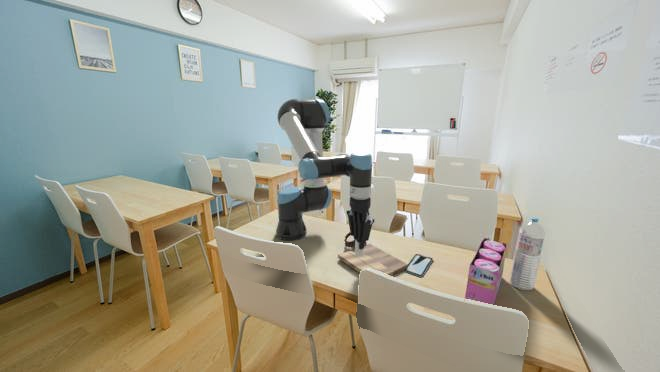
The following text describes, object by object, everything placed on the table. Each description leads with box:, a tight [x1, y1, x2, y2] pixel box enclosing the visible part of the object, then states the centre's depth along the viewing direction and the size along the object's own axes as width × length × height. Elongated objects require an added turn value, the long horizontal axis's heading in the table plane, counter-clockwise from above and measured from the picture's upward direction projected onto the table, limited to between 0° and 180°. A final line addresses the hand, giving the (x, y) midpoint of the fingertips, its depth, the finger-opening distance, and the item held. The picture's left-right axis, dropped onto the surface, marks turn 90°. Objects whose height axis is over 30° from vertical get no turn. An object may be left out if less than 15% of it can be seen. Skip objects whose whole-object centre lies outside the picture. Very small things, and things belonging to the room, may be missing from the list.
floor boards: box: [363, 243, 408, 276], centre depth 111 cm, size 21×8×2 cm, turn 36°
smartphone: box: [403, 253, 434, 278], centre depth 106 cm, size 7×1×15 cm
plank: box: [337, 249, 394, 277], centre depth 105 cm, size 21×10×2 cm, turn 36°
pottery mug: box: [343, 231, 368, 248], centre depth 122 cm, size 12×10×8 cm
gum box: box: [464, 237, 508, 305], centre depth 91 cm, size 24×8×14 cm, turn 141°
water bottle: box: [509, 217, 546, 292], centre depth 90 cm, size 7×7×25 cm
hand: (358, 255), depth 103 cm, fingers closed
